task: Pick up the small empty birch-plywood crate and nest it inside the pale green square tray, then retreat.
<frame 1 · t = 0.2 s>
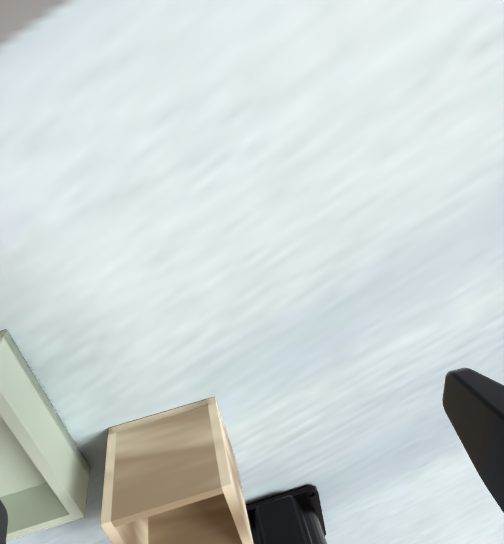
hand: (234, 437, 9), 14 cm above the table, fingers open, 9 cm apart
small crate: (176, 447, 29), on the table
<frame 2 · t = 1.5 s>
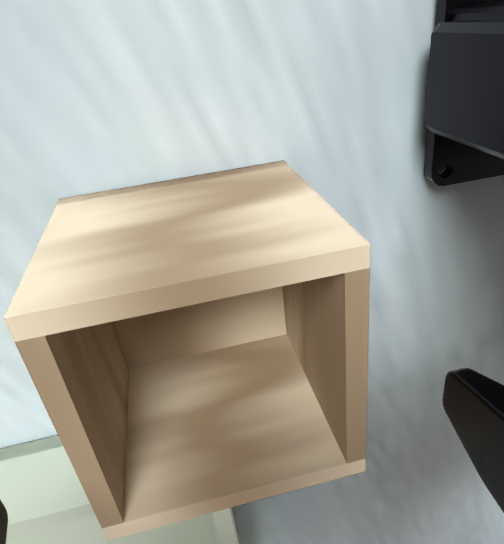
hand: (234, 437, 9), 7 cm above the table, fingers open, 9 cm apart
small crate: (194, 275, 15), on the table
pale green square tray: (99, 525, 19), on the table
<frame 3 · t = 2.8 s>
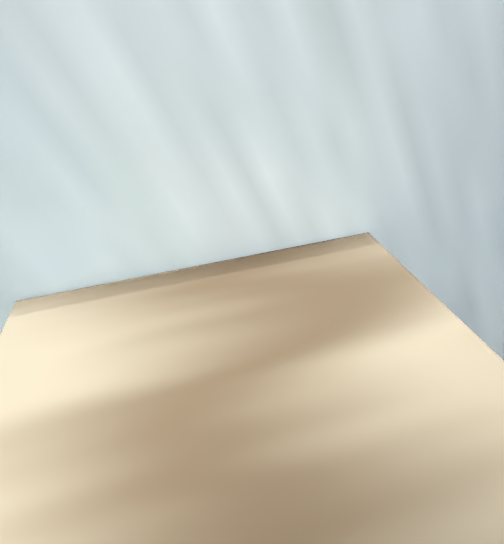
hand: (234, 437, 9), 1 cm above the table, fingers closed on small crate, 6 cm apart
small crate: (225, 394, 10), on the table, touching gripper
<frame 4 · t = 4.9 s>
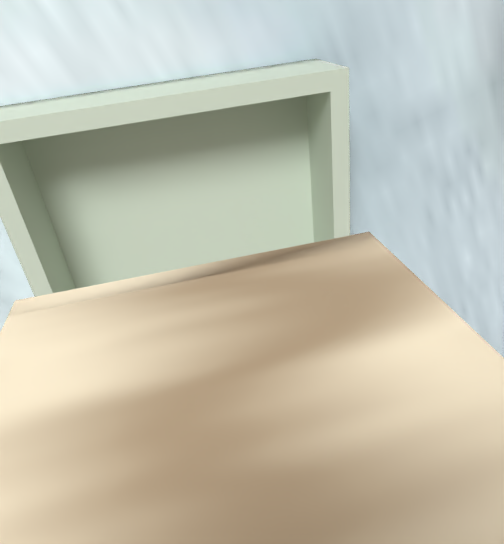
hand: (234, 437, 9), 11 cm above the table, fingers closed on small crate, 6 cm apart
small crate: (225, 394, 10), point 10 cm above the table, touching gripper
pale green square tray: (190, 227, 19), on the table
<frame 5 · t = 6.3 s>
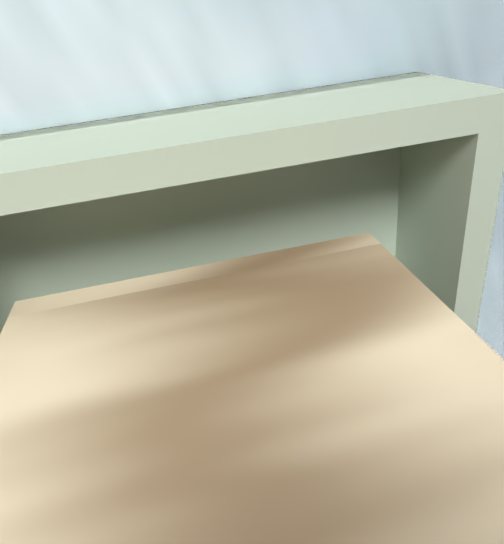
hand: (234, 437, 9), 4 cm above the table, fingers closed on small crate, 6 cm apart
small crate: (225, 395, 10), point 3 cm above the table, touching gripper
pale green square tray: (208, 325, 12), on the table
when the fingers open (4 cm above the table, at t = 7.2 s): small crate drops 2 cm, resting on pale green square tray.
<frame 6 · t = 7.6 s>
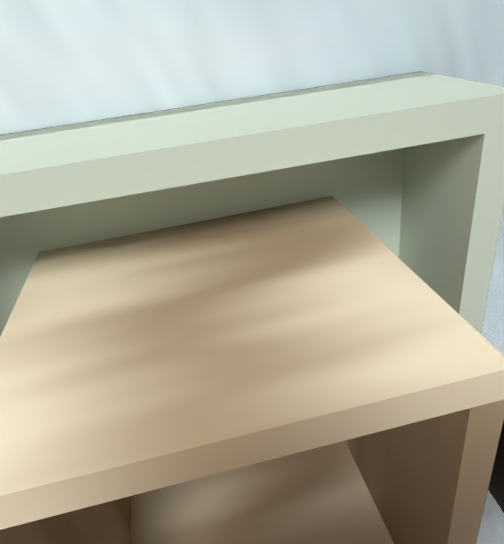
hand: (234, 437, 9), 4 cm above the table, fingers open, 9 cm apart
small crate: (214, 339, 12), point 1 cm above the table, touching pale green square tray
pale green square tray: (210, 327, 12), on the table
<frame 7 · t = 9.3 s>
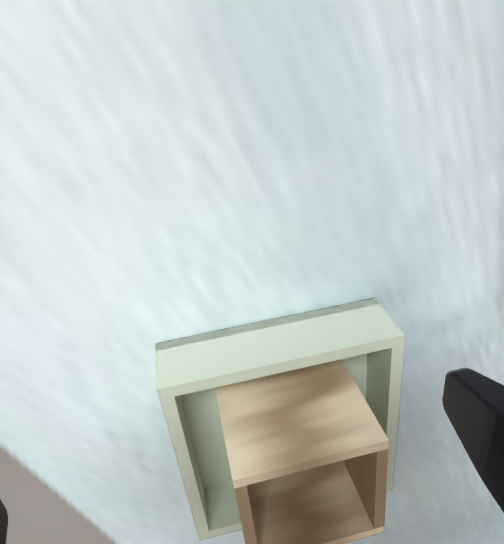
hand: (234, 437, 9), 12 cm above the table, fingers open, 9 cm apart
small crate: (280, 408, 25), point 1 cm above the table, touching pale green square tray
pale green square tray: (277, 401, 25), on the table
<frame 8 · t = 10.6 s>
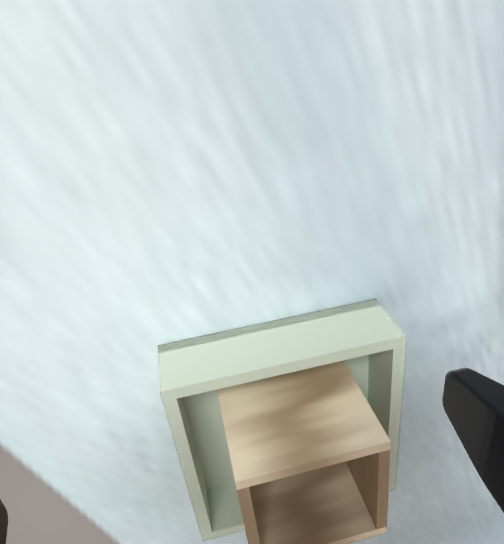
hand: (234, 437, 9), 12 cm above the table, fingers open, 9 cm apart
small crate: (282, 409, 25), point 1 cm above the table, touching pale green square tray
pale green square tray: (279, 402, 26), on the table
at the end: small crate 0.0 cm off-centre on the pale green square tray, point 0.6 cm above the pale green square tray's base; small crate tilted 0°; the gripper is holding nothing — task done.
